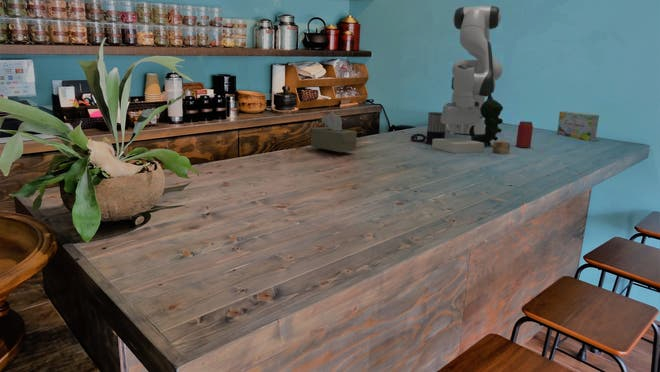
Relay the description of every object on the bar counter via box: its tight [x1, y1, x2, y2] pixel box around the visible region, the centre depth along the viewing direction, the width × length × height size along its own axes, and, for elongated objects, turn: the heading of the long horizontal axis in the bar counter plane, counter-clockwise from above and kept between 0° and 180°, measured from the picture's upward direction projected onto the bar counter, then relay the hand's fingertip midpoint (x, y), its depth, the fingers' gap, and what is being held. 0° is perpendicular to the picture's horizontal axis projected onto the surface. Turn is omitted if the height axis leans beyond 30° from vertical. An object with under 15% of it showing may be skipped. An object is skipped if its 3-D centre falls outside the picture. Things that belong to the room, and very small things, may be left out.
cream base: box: [431, 137, 485, 154], centre depth 226 cm, size 16×16×4 cm
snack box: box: [556, 110, 600, 142], centre depth 274 cm, size 21×6×15 cm, turn 25°
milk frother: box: [410, 111, 447, 145], centre depth 244 cm, size 14×16×15 cm
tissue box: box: [310, 111, 358, 153], centre depth 216 cm, size 19×10×16 cm, turn 45°
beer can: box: [515, 120, 534, 149], centre depth 242 cm, size 7×7×12 cm
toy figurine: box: [468, 94, 504, 147], centre depth 243 cm, size 9×19×25 cm, turn 27°
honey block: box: [491, 140, 511, 155], centre depth 222 cm, size 5×5×5 cm
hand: (458, 133), depth 225 cm, fingers open, 6 cm apart
